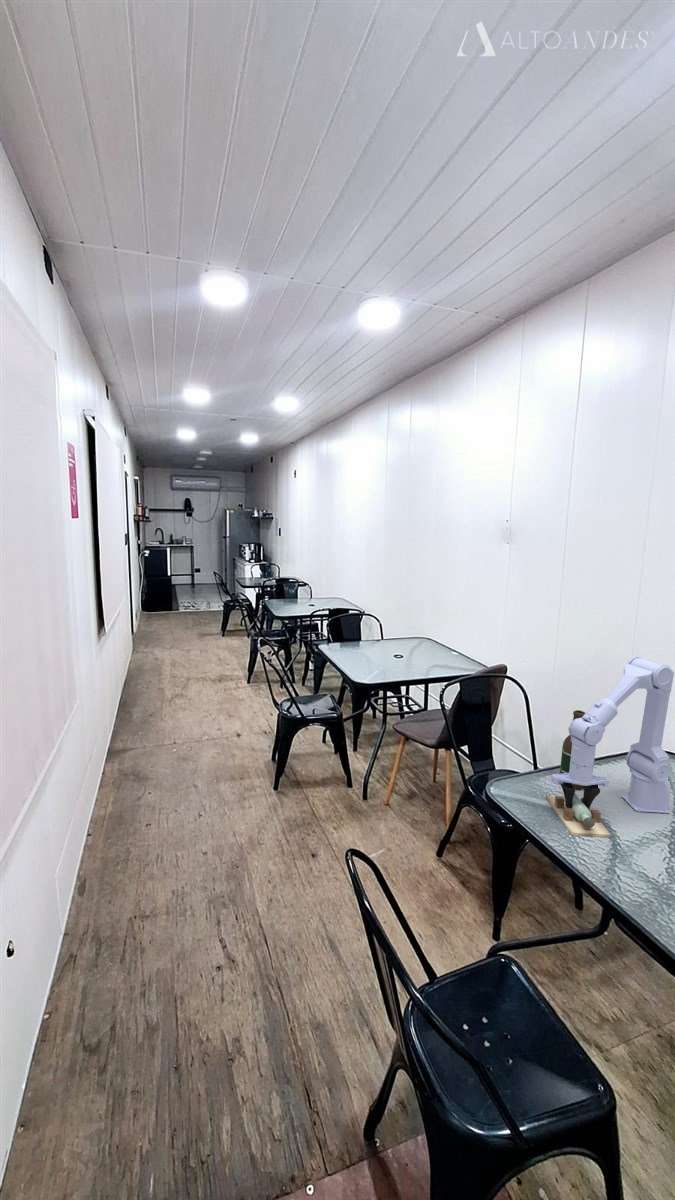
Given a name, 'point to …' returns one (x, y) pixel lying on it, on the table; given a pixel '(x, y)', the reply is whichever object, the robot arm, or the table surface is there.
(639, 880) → the table surface
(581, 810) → the bottle
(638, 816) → the table surface
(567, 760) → the beer bottle
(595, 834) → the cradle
